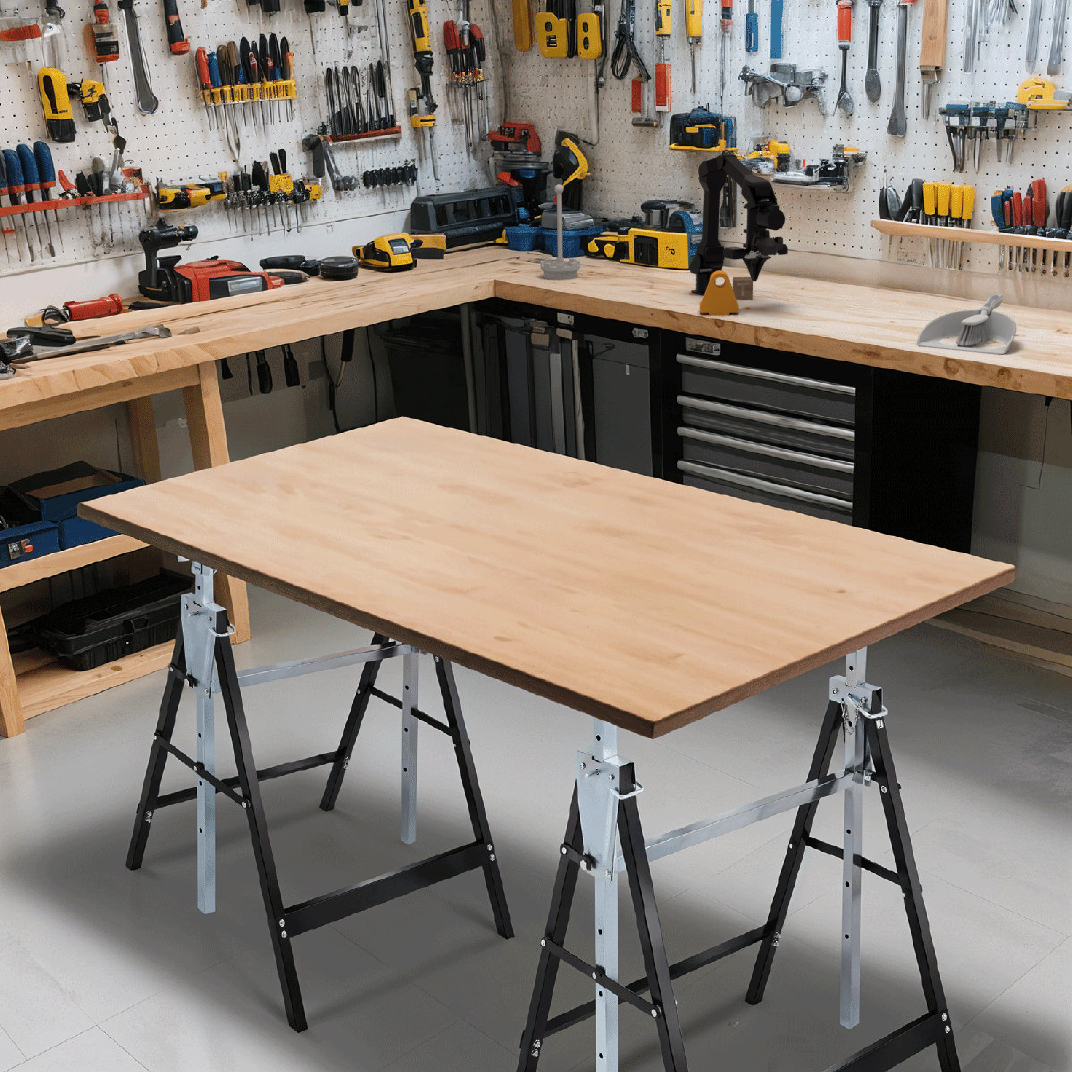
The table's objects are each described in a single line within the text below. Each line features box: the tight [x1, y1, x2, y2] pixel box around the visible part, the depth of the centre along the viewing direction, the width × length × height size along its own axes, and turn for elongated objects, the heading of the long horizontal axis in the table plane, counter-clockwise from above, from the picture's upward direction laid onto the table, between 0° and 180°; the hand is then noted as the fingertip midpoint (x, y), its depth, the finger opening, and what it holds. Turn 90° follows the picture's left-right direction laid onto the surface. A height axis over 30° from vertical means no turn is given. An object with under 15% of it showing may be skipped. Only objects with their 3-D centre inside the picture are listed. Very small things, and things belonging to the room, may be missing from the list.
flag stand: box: [540, 183, 581, 281], centre depth 447 cm, size 13×13×30 cm
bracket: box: [699, 270, 739, 316], centre depth 389 cm, size 11×7×12 cm, turn 85°
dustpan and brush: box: [916, 293, 1017, 356], centre depth 351 cm, size 23×33×10 cm
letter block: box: [732, 276, 754, 301], centre depth 410 cm, size 6×6×6 cm
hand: (754, 281), depth 393 cm, fingers closed
